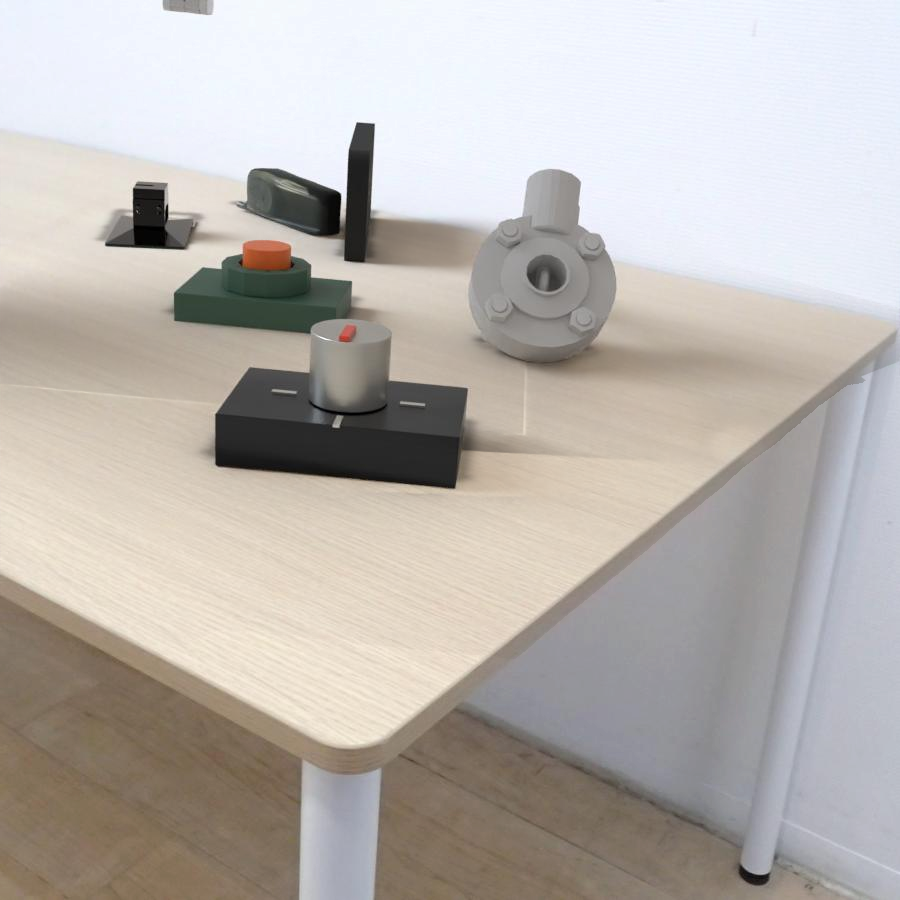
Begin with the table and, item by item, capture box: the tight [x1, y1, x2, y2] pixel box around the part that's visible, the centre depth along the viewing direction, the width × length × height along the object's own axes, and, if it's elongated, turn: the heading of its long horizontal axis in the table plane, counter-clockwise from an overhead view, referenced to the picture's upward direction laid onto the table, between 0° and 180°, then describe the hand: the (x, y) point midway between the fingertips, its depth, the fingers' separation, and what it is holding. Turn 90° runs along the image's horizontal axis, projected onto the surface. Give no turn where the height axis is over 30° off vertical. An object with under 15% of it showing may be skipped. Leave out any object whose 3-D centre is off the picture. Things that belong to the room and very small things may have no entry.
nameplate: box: [343, 121, 376, 262], centre depth 115 cm, size 21×2×10 cm, turn 2°
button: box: [242, 239, 292, 270], centre depth 88 cm, size 4×4×2 cm
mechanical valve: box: [467, 168, 617, 364], centre depth 91 cm, size 10×18×15 cm
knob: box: [308, 318, 393, 413], centre depth 65 cm, size 4×4×4 cm
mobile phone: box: [236, 167, 342, 237], centre depth 120 cm, size 5×3×15 cm
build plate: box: [104, 181, 197, 251], centre depth 111 cm, size 12×7×5 cm, turn 8°
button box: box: [173, 253, 353, 334], centre depth 89 cm, size 12×8×4 cm, turn 86°
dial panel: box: [214, 366, 469, 490], centre depth 66 cm, size 13×9×3 cm, turn 86°
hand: (188, 12), depth 77 cm, fingers closed
